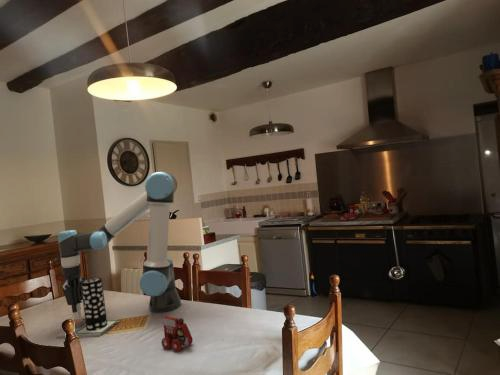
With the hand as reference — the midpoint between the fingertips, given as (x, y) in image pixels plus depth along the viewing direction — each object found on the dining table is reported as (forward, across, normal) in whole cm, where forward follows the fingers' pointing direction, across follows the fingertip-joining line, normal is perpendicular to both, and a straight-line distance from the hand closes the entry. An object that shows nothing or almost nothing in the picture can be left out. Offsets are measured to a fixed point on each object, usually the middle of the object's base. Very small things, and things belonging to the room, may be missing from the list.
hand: (77, 318), depth 161 cm
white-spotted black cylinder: (+3, +3, +11) cm, 12 cm away
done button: (+3, 0, 0) cm, 3 cm away
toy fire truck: (+4, +22, +55) cm, 59 cm away
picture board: (+4, +3, +7) cm, 9 cm away
